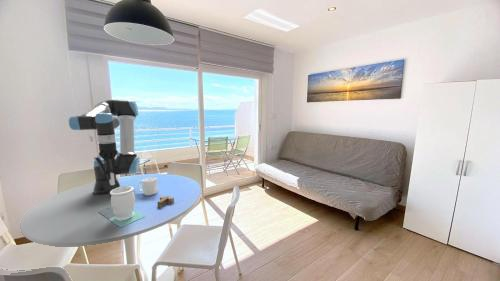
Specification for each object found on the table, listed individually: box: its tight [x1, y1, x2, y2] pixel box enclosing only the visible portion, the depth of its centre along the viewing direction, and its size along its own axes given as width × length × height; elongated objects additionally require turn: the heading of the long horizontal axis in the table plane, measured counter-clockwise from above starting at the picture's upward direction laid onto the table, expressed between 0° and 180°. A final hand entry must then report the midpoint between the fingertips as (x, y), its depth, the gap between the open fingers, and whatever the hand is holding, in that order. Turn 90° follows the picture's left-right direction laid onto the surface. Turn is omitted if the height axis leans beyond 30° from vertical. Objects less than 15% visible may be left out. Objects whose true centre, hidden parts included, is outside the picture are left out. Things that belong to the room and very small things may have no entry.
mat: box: [98, 206, 146, 228], centre depth 108 cm, size 26×12×1 cm, turn 56°
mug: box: [137, 176, 159, 196], centre depth 136 cm, size 12×9×9 cm
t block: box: [156, 195, 175, 208], centre depth 120 cm, size 8×8×3 cm
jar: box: [109, 185, 136, 221], centre depth 104 cm, size 11×10×15 cm
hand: (112, 184), depth 111 cm, fingers closed
